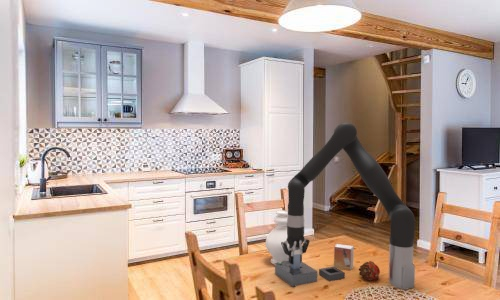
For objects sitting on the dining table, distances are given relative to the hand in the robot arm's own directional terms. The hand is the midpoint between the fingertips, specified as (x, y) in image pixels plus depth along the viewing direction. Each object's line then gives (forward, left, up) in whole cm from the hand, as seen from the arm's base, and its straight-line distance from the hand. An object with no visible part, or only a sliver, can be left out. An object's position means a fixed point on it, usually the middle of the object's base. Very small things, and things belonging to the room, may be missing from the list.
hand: (295, 263), depth 161 cm
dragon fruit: (-14, -29, -7) cm, 33 cm away
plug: (0, 0, -4) cm, 4 cm away
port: (0, 0, -7) cm, 7 cm away
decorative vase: (+20, -5, -7) cm, 22 cm away
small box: (+1, -27, -7) cm, 28 cm away
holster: (-6, -15, -7) cm, 17 cm away
